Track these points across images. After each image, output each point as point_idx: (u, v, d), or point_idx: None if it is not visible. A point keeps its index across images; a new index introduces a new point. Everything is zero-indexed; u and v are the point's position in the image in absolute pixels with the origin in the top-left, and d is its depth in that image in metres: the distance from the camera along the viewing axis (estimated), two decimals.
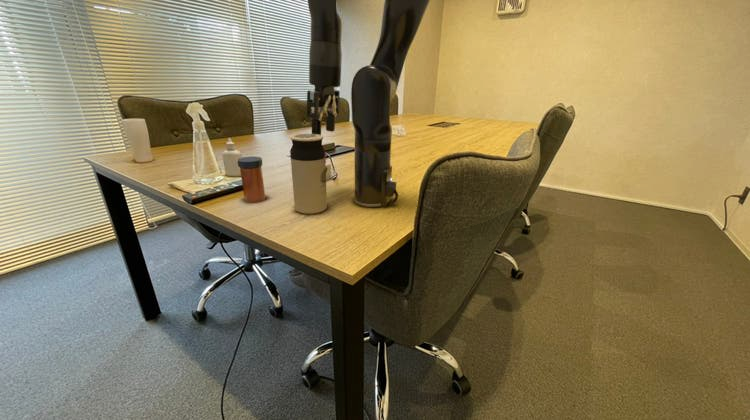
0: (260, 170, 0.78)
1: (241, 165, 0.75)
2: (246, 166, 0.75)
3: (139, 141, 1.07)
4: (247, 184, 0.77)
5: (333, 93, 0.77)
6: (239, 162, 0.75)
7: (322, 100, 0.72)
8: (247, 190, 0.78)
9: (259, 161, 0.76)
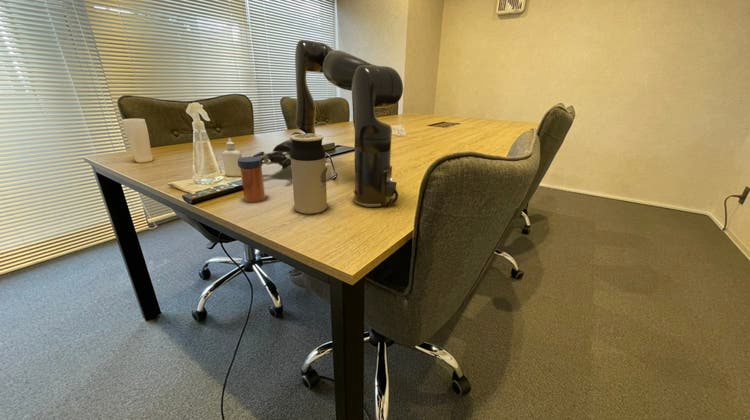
0: (260, 170, 0.78)
1: (241, 165, 0.75)
2: (246, 166, 0.75)
3: (139, 141, 1.07)
4: (247, 184, 0.77)
5: (289, 154, 0.97)
6: (239, 162, 0.75)
7: None
8: (247, 190, 0.78)
9: (259, 161, 0.76)
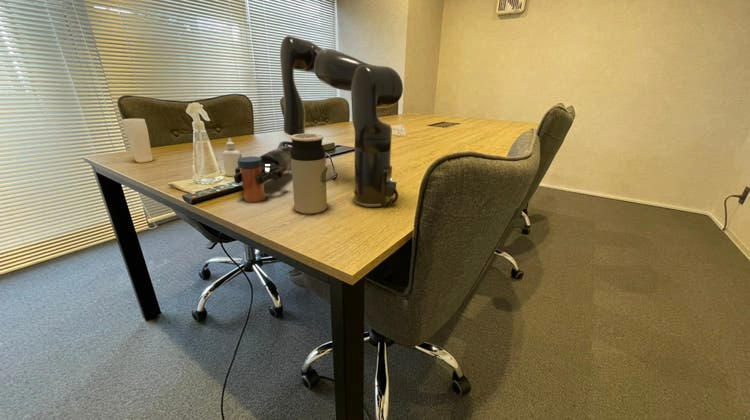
0: (260, 170, 0.78)
1: (241, 165, 0.75)
2: (246, 166, 0.75)
3: (139, 141, 1.07)
4: (247, 184, 0.77)
5: (274, 166, 0.86)
6: (239, 162, 0.75)
7: None
8: (247, 190, 0.78)
9: (259, 161, 0.76)
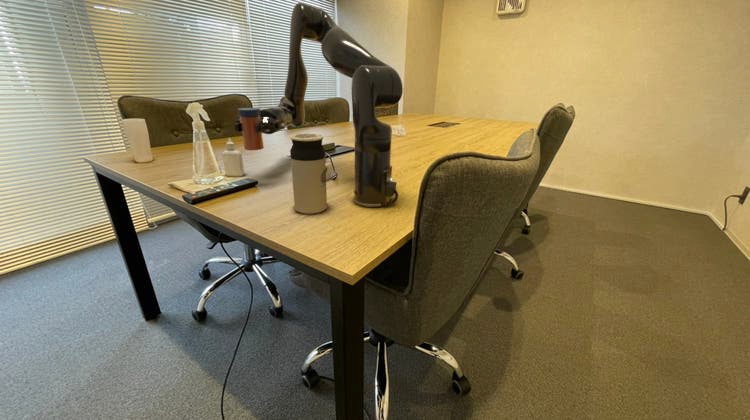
0: (258, 120, 0.84)
1: (241, 113, 0.81)
2: (245, 114, 0.81)
3: (139, 141, 1.07)
4: (246, 132, 0.83)
5: (272, 119, 0.91)
6: (239, 111, 0.81)
7: None
8: (247, 139, 0.84)
9: (257, 110, 0.82)
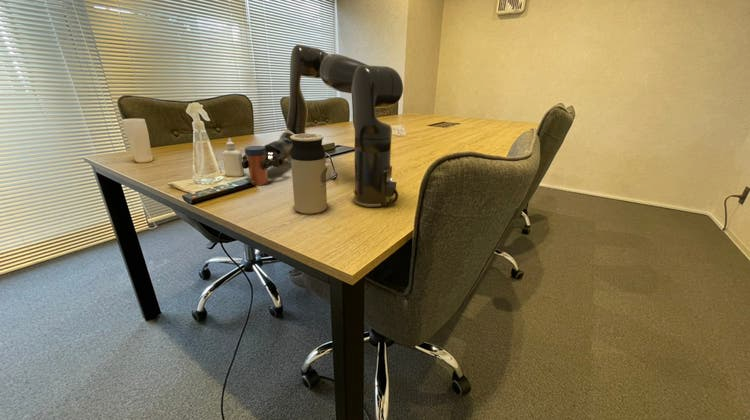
0: (264, 157, 0.90)
1: (248, 153, 0.87)
2: (252, 153, 0.87)
3: (139, 141, 1.07)
4: (253, 169, 0.90)
5: (276, 154, 0.98)
6: (246, 150, 0.88)
7: None
8: (253, 175, 0.90)
9: (263, 149, 0.89)
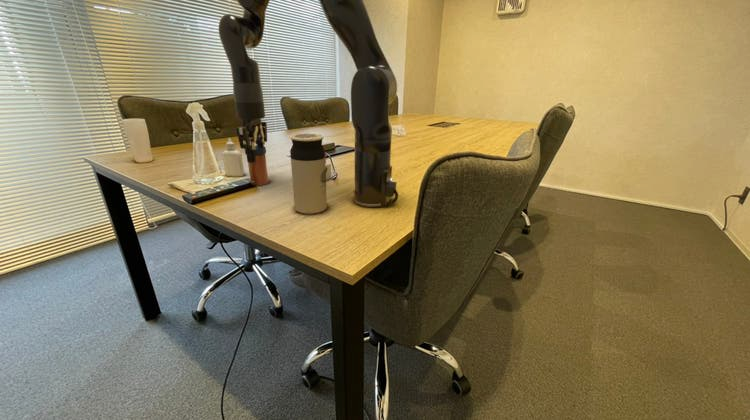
0: (264, 157, 0.90)
1: None
2: None
3: (139, 141, 1.07)
4: (253, 169, 0.90)
5: (260, 122, 0.89)
6: None
7: (250, 131, 0.84)
8: (253, 175, 0.90)
9: (263, 149, 0.89)
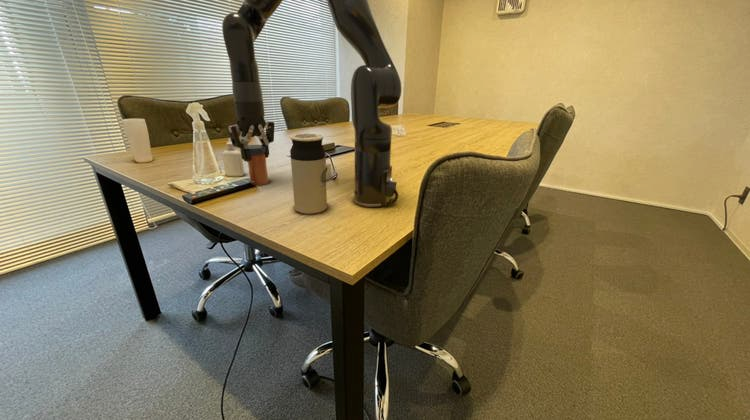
0: (264, 157, 0.90)
1: None
2: None
3: (139, 141, 1.07)
4: (253, 169, 0.90)
5: None
6: (264, 147, 0.90)
7: None
8: (253, 175, 0.90)
9: None
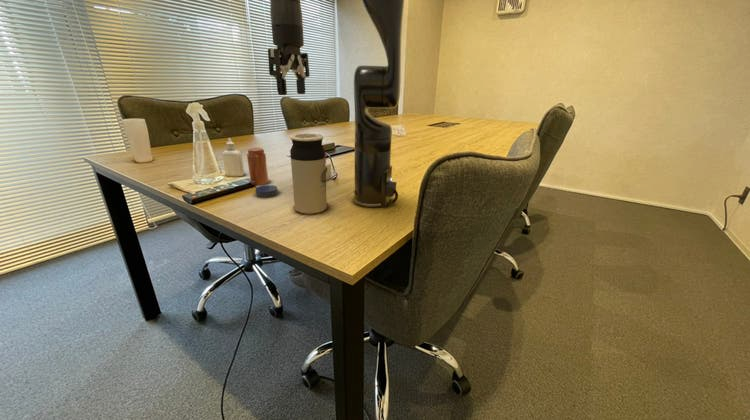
0: (264, 157, 0.90)
1: None
2: None
3: (139, 141, 1.07)
4: (253, 169, 0.90)
5: None
6: None
7: None
8: (253, 175, 0.90)
9: None
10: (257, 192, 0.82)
